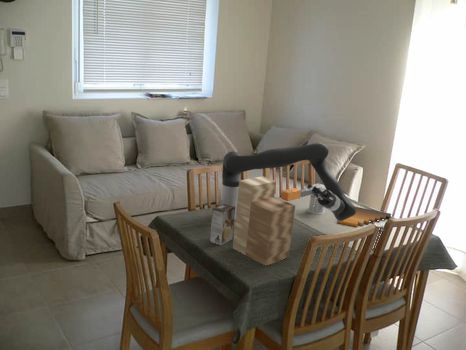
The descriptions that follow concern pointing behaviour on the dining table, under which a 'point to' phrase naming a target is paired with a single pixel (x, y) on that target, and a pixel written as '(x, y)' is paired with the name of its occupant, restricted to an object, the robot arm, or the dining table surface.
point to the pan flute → (364, 217)
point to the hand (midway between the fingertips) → (311, 187)
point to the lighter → (378, 234)
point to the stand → (262, 221)
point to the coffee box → (222, 224)
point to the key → (296, 193)
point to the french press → (316, 202)
